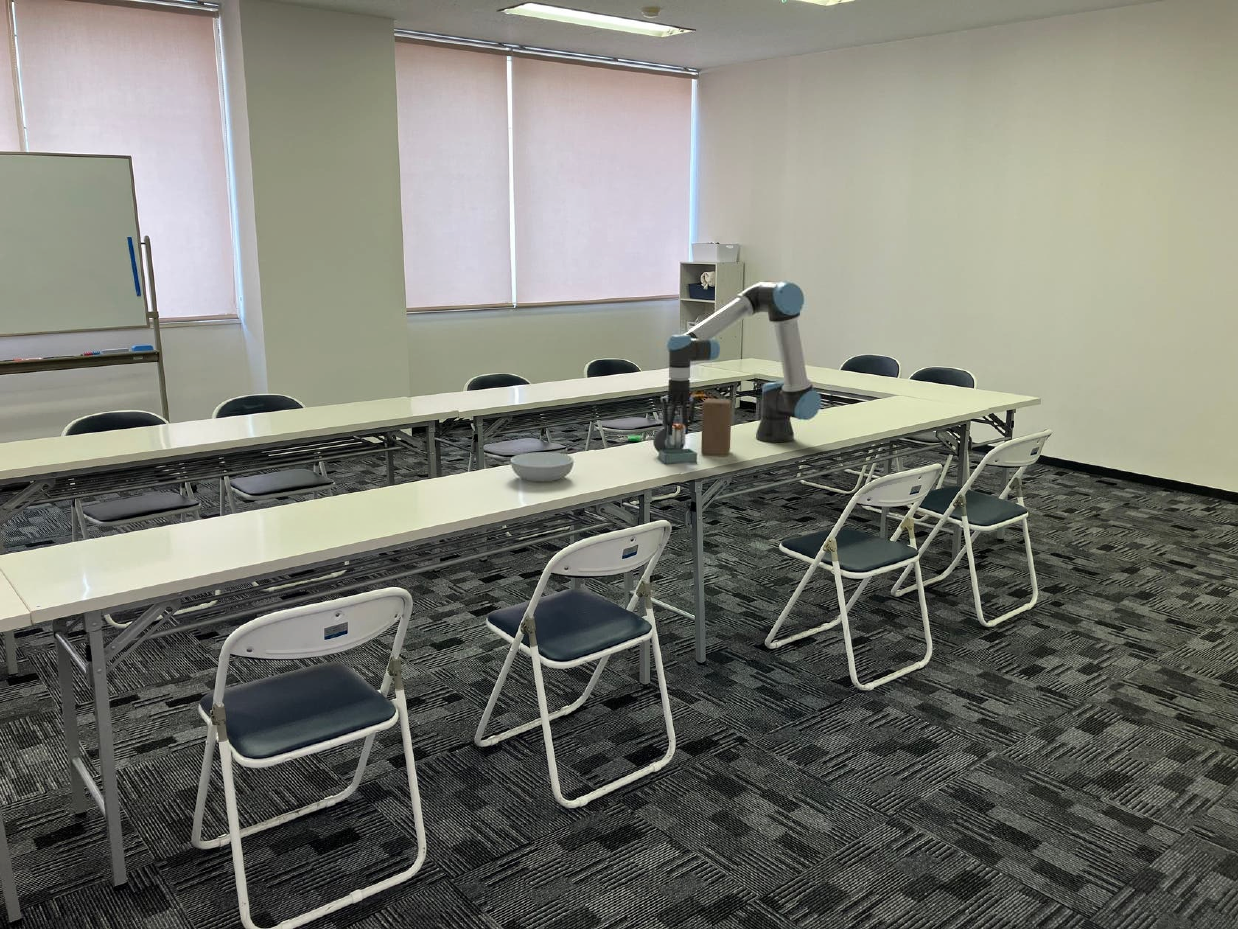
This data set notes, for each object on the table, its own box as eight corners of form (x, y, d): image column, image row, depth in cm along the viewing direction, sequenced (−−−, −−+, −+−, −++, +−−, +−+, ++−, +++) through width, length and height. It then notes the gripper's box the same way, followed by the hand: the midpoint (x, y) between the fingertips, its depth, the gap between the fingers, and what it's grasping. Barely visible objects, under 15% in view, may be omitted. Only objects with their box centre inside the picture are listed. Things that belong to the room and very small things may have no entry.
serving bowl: (505, 486, 299) (505, 465, 297) (516, 471, 319) (516, 451, 318) (570, 487, 298) (570, 466, 296) (576, 472, 318) (576, 452, 316)
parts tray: (689, 457, 340) (690, 448, 339) (696, 462, 333) (697, 452, 332) (658, 459, 337) (658, 450, 336) (664, 464, 330) (665, 454, 329)
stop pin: (680, 448, 336) (681, 423, 334) (683, 450, 333) (684, 425, 331) (671, 448, 335) (672, 423, 333) (674, 450, 332) (675, 425, 330)
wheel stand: (680, 453, 348) (680, 409, 344) (685, 457, 342) (686, 412, 338) (651, 454, 345) (652, 411, 341) (657, 458, 339) (657, 413, 335)
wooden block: (727, 457, 342) (729, 403, 338) (700, 455, 344) (702, 402, 340) (730, 451, 352) (731, 399, 347) (703, 450, 354) (705, 398, 349)
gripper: (697, 376, 334) (695, 440, 339) (653, 377, 330) (652, 442, 335) (704, 379, 327) (702, 444, 332) (660, 380, 323) (658, 446, 328)
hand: (677, 443), depth 334 cm, fingers closed on stop pin, 3 cm apart
